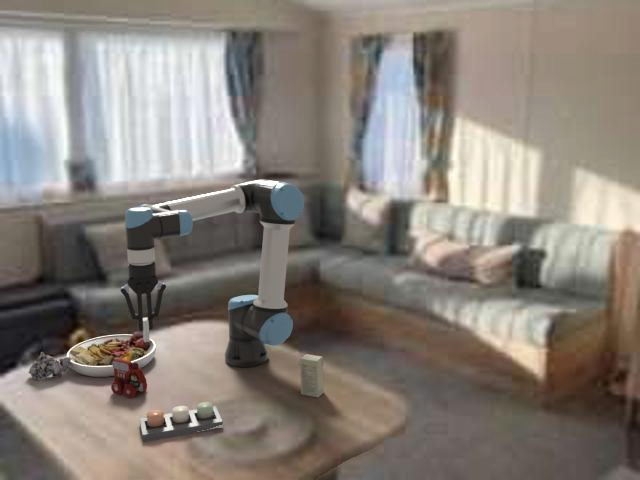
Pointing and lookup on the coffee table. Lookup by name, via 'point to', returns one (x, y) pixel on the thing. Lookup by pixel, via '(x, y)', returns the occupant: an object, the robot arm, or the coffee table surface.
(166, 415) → the frame
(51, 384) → the coffee table surface
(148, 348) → the bowl
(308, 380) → the skincare box
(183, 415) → the button cream
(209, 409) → the button sage
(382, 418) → the coffee table surface
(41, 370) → the mineral specimen
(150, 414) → the button terracotta
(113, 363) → the toy fire truck
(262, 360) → the robot arm
